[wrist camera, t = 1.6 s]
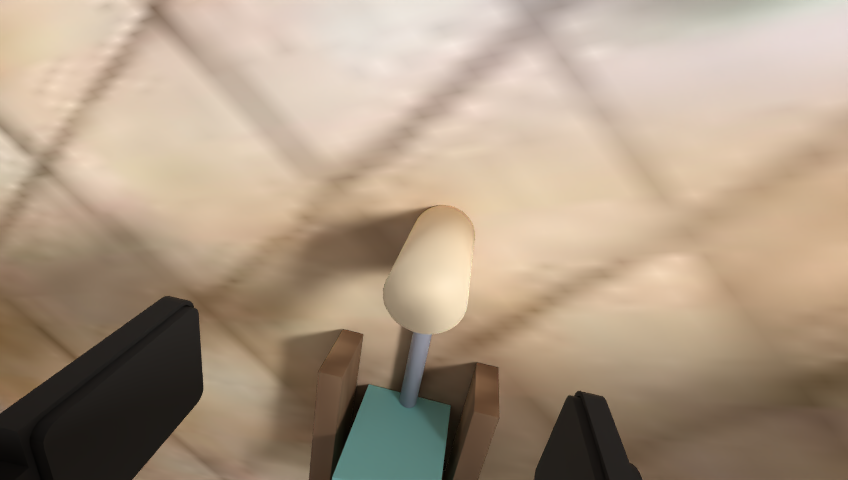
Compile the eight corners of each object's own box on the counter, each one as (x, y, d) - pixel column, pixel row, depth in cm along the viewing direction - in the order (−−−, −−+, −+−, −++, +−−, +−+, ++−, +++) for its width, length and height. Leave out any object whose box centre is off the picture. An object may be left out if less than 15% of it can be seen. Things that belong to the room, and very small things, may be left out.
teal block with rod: (398, 194, 19) (360, 244, 14) (502, 217, 19) (505, 278, 13) (359, 442, 26) (324, 540, 21) (435, 462, 26) (419, 568, 20)
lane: (498, 367, 22) (500, 465, 17) (459, 488, 26) (450, 597, 21) (342, 329, 23) (295, 411, 17) (328, 452, 27) (287, 549, 21)
